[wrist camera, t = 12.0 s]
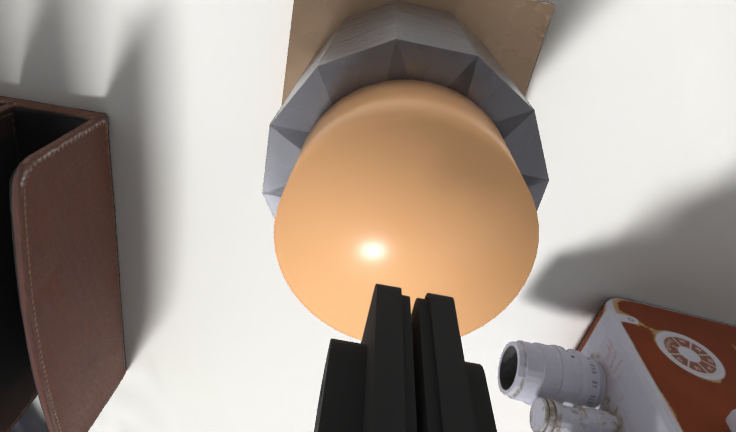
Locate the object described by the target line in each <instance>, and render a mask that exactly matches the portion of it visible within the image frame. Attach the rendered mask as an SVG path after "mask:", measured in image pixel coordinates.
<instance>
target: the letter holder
mask: <svg viewBox="0 0 736 432" xmlns="http://www.w3.org/2000/svg"><path fill="white" fill-rule="evenodd" d="M109 149H110V147H109V133H108V122H107V116H106V114H105V113H97V112H91V111H86V110H80V109H73V108H67V107H61V106H55V105H49V104H43V103H38V102H32V101H26V100H20V99H14V98H8V97H3V96H0V432H10V431H11V429H12V428H13V427H14V425H15V424H16V422H17V421H18V420H19V419H20V418H21V416H22V415H23V414H24V412H25V411H26V409H27V408H28V407H29V406H30V404H31V403H32V401H33V400H34V399H35V398H36V396H37V395H38V396H39V400H40V404H41V407H42V410H43V413H44V416H45V419H46V422H47V426H48V429H49V432H88V430H89V429H90V428H91V426H92V425H93V423H94V422H95V420H96V419H97V417H98V416H99V414H100V412H101V411H102V409H103V408H104V406H105V405H106V404H107V402H108V401H109V399H110V398H111V396H112V395H113V393H114V391H115V390H116V388H117V387H118V385H119V383H120V382H121V380H122V379H123V377H124V375H125V373H126V366H125V355H124V340H123V339H124V337H123V326H122V311H121V297H120V282H119V265H118V253H117V237H116V224H115V215H114V214H115V207H114V199H113V184H112V173H111V160H110V151H109Z"/></svg>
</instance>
